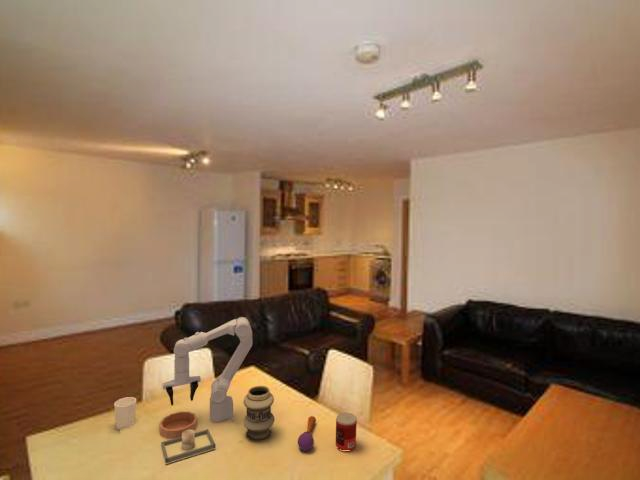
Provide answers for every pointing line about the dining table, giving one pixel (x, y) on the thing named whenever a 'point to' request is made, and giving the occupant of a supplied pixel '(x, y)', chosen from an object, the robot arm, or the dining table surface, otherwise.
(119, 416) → the white cup
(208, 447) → the charcoal tray
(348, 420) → the canned food
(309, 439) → the purple maraca
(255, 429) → the apothecary jar
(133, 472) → the dining table surface
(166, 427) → the orange shallow faceted dish
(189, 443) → the taupe rounded cylinder
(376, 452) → the dining table surface
